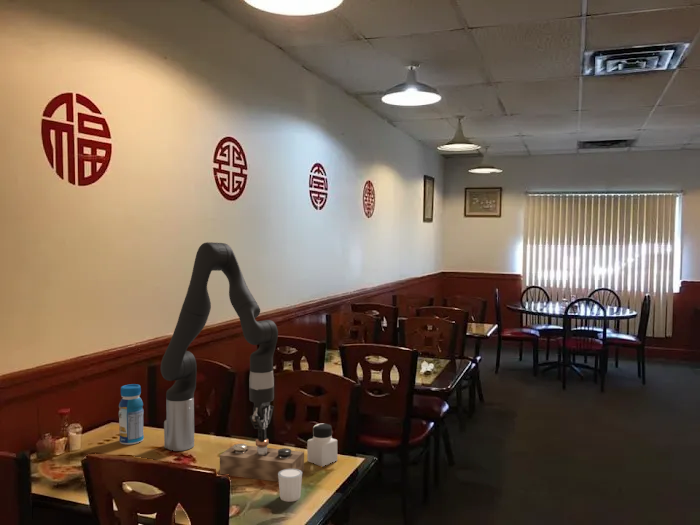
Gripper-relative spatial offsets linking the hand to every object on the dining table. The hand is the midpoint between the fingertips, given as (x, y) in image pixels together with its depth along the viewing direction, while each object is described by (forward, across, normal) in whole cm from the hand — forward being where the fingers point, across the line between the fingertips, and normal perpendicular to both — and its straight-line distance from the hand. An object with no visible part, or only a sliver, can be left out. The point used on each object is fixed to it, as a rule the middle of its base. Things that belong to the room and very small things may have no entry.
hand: (262, 440), depth 185 cm
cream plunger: (+10, 0, -8) cm, 12 cm away
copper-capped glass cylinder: (+7, 0, 0) cm, 7 cm away
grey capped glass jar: (+10, 0, +7) cm, 12 cm away
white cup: (+10, +14, +15) cm, 23 cm away
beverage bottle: (+10, -13, -57) cm, 59 cm away
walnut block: (+10, 0, 0) cm, 10 cm away
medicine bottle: (+10, -14, +15) cm, 23 cm away
